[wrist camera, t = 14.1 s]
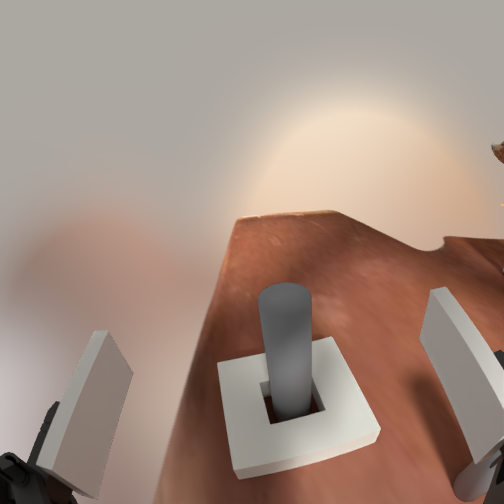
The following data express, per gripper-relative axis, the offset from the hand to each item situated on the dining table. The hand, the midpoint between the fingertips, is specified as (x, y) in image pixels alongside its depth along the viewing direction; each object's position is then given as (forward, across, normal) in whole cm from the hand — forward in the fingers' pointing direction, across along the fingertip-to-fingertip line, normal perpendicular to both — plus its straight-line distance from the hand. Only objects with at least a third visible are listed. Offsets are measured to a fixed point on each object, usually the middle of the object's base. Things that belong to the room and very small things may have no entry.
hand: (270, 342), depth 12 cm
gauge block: (+10, 0, -22) cm, 24 cm away
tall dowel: (+10, 0, -22) cm, 24 cm away
